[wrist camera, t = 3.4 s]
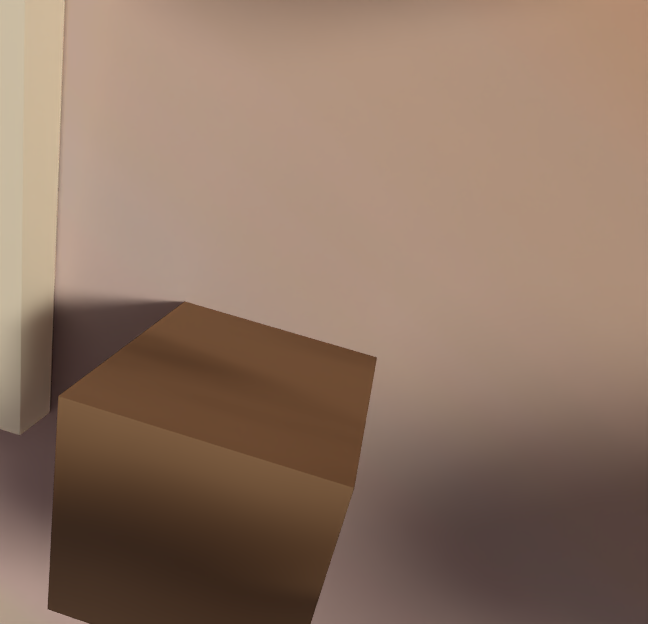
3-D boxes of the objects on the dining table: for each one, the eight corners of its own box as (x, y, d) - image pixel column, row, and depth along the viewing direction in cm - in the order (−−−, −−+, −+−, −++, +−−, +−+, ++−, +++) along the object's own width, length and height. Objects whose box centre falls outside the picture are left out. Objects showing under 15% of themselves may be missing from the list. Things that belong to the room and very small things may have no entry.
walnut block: (329, 511, 14) (288, 691, 10) (162, 458, 15) (47, 609, 10) (376, 355, 13) (354, 488, 8) (186, 300, 13) (58, 396, 8)
